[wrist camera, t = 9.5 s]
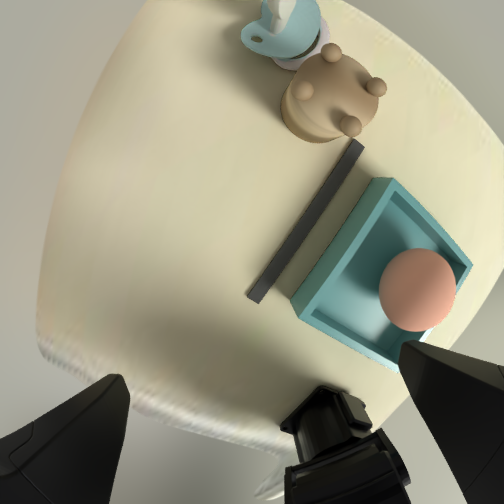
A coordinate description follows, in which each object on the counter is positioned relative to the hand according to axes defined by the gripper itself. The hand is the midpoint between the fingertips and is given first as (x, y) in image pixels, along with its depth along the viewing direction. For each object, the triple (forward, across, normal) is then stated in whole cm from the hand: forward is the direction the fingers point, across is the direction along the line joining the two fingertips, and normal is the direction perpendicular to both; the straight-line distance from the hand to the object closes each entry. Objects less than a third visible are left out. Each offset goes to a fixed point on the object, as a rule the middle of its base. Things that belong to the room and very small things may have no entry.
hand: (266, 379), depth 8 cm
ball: (+9, -12, +2) cm, 15 cm away
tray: (+13, -11, +2) cm, 17 cm away
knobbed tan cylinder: (+13, -6, -11) cm, 18 cm away
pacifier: (+13, -5, -17) cm, 22 cm away
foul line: (+13, -5, -3) cm, 14 cm away
